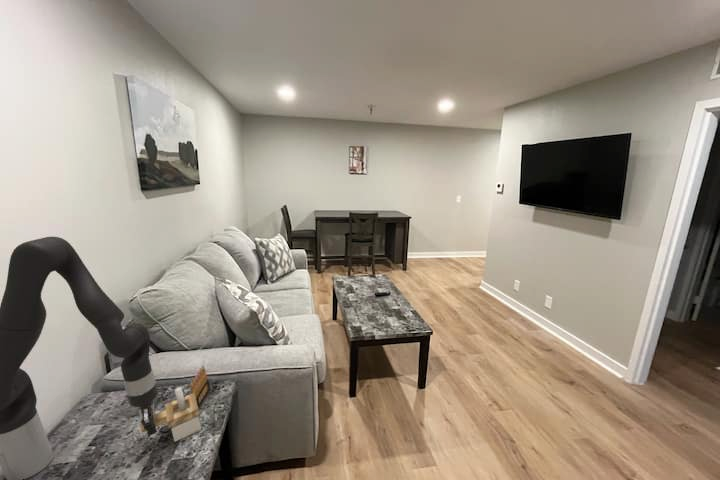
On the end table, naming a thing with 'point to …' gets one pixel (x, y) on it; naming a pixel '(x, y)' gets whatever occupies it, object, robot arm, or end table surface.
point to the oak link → (178, 418)
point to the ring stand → (186, 426)
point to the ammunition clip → (200, 386)
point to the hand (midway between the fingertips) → (152, 429)
